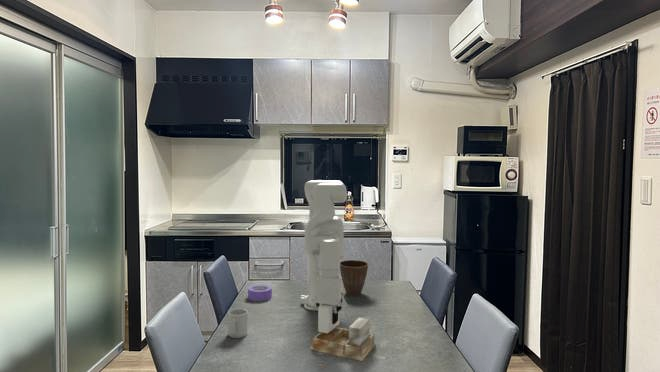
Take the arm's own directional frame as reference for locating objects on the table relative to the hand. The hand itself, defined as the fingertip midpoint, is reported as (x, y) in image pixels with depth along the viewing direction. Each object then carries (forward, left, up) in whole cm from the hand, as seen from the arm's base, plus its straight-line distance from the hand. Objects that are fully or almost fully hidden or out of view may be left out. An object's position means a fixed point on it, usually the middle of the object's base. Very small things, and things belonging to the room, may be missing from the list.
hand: (329, 321), depth 151 cm
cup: (-35, -9, -9) cm, 37 cm away
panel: (0, 0, -2) cm, 2 cm away
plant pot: (-14, +61, -9) cm, 63 cm away
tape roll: (-54, +34, -9) cm, 65 cm away
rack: (+6, 0, -9) cm, 10 cm away
